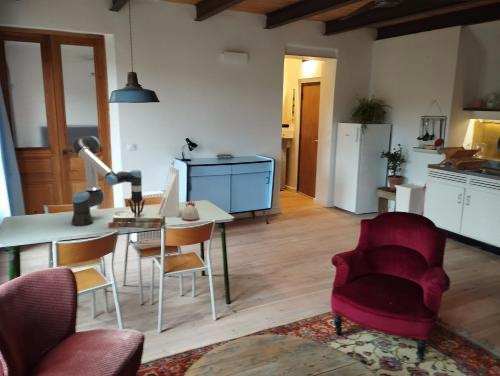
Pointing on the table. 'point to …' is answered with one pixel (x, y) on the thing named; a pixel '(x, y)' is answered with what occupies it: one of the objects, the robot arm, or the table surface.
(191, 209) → the beige rounded dome
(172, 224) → the table surface
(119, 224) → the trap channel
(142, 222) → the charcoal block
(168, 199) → the white bracket plate
